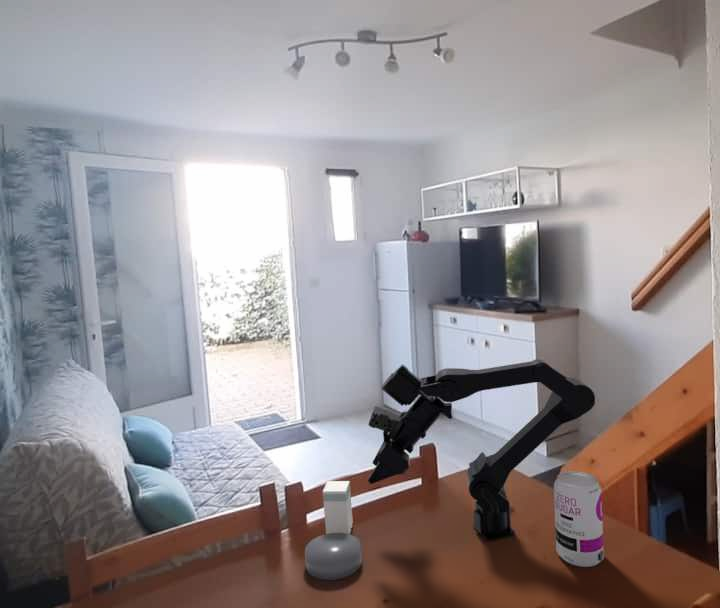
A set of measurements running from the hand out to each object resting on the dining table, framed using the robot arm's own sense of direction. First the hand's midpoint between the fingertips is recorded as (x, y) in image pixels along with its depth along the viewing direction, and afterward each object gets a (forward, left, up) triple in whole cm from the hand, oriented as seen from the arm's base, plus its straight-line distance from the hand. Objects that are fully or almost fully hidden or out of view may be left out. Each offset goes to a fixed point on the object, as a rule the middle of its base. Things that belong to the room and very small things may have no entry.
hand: (372, 472), depth 109 cm
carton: (+7, -4, -13) cm, 15 cm away
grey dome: (+11, +8, -13) cm, 19 cm away
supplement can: (-33, +24, -13) cm, 43 cm away
